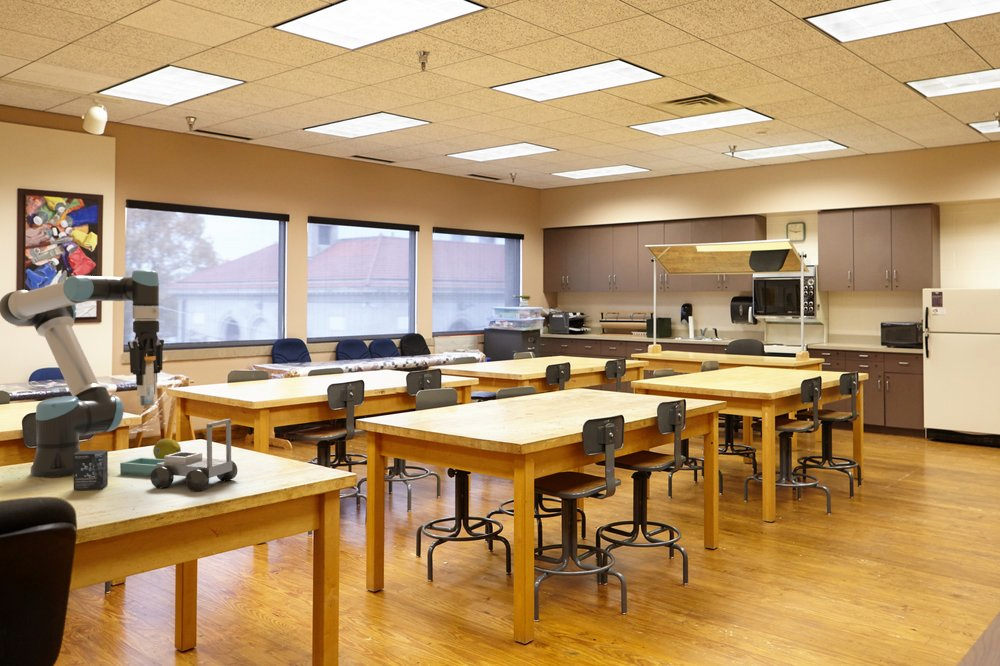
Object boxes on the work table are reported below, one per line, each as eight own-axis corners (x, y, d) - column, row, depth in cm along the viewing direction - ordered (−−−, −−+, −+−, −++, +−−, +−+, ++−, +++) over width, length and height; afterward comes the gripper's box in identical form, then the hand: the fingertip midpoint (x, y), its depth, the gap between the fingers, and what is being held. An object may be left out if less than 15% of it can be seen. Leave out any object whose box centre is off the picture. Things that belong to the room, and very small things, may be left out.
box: (73, 491, 229) (72, 454, 228) (79, 486, 234) (78, 450, 234) (103, 489, 231) (102, 453, 230) (108, 485, 236) (107, 449, 236)
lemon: (148, 461, 270) (148, 438, 269) (171, 458, 275) (170, 435, 275) (163, 466, 262) (163, 442, 262) (186, 463, 268) (186, 439, 268)
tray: (120, 474, 251) (120, 463, 251) (141, 468, 259) (140, 457, 259) (155, 477, 247) (155, 465, 247) (175, 471, 256) (174, 460, 255)
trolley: (150, 487, 233) (149, 422, 232) (187, 476, 248) (186, 414, 248) (203, 492, 228) (202, 425, 227) (237, 480, 243) (237, 417, 242)
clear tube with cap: (134, 405, 250) (133, 356, 250) (146, 403, 255) (145, 355, 255) (148, 406, 249) (147, 357, 248) (160, 404, 254) (159, 355, 253)
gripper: (136, 320, 242) (137, 398, 243) (174, 319, 258) (175, 392, 259) (115, 320, 244) (117, 397, 245) (155, 319, 260) (156, 391, 261)
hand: (147, 394), depth 252 cm, fingers closed on clear tube with cap, 4 cm apart
